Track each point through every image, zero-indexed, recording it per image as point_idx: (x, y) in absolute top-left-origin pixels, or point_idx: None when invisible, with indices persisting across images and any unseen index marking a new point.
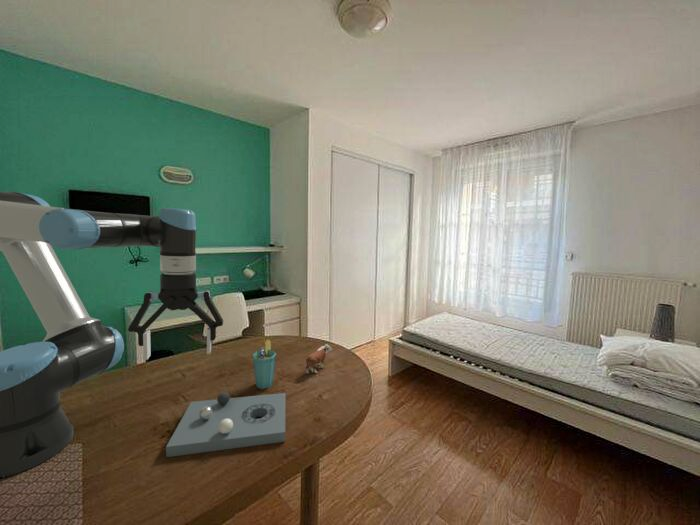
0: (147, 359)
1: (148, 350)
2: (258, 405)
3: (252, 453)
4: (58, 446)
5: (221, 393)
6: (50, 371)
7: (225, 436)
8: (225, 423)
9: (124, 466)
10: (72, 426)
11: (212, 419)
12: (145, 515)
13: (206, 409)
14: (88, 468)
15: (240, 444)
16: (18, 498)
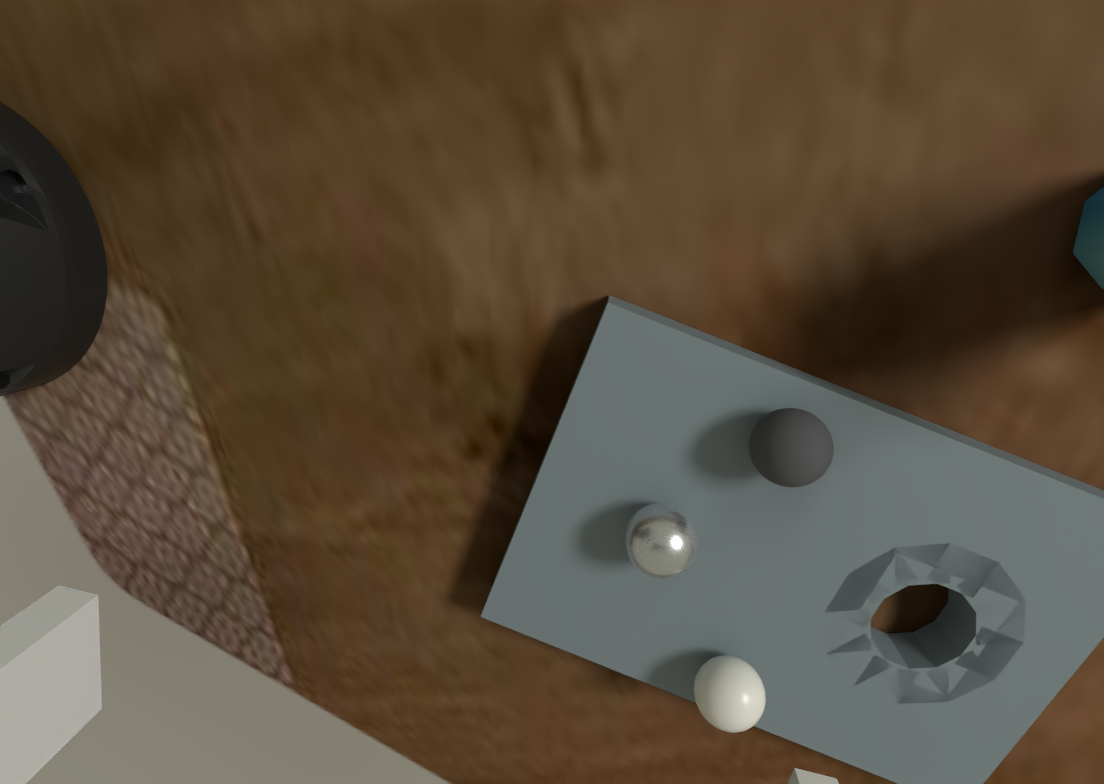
0: (98, 705)
1: (1, 758)
2: (957, 562)
3: (789, 745)
4: (73, 339)
5: (788, 457)
6: None
7: None
8: (727, 731)
9: (356, 550)
10: (53, 218)
11: None
12: (446, 771)
13: (664, 572)
14: (240, 490)
15: None
16: (94, 516)
